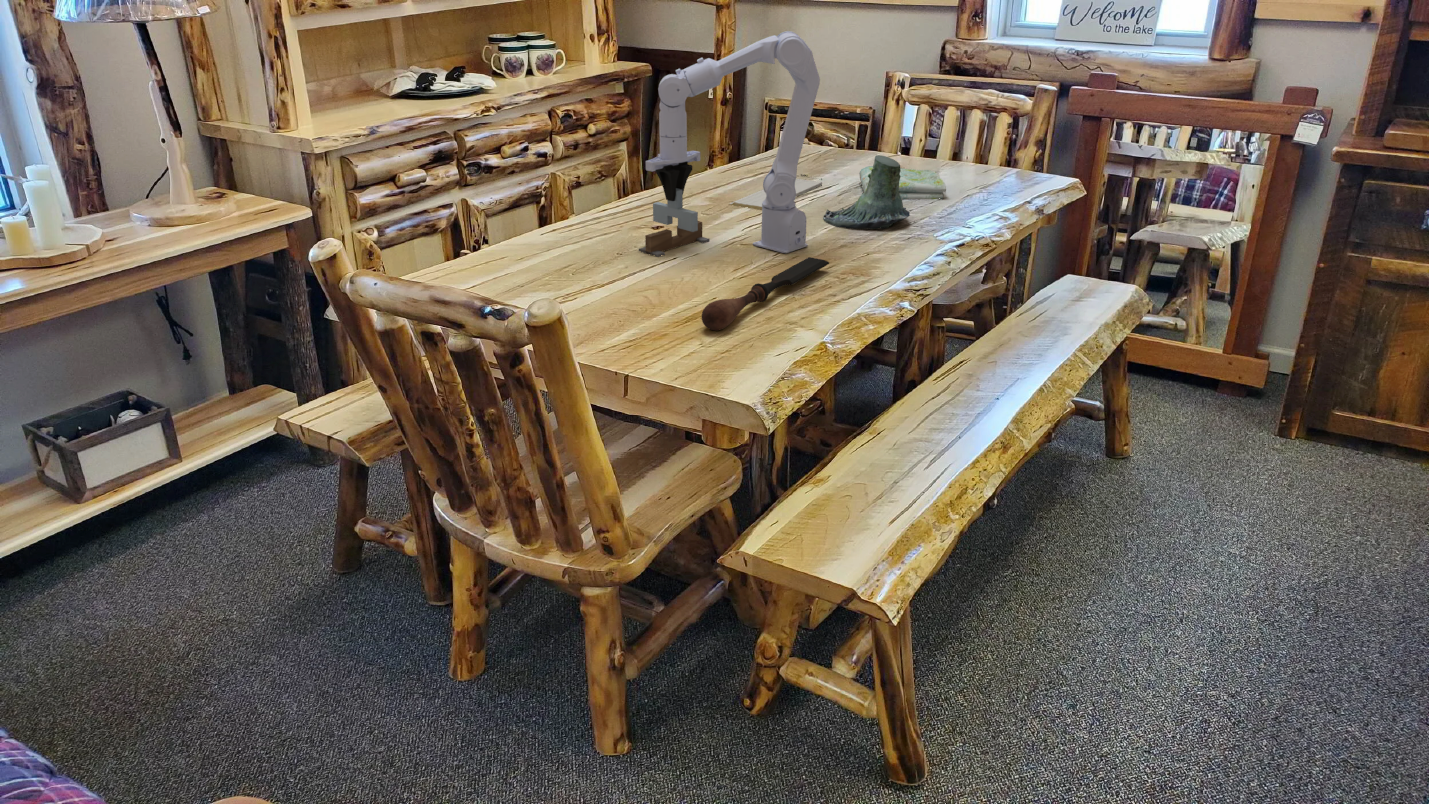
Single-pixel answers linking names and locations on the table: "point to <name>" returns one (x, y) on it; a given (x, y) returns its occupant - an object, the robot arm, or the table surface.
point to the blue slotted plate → (675, 213)
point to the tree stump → (874, 200)
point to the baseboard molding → (757, 198)
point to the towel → (913, 183)
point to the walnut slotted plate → (671, 240)
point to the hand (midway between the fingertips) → (674, 199)
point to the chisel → (757, 294)
